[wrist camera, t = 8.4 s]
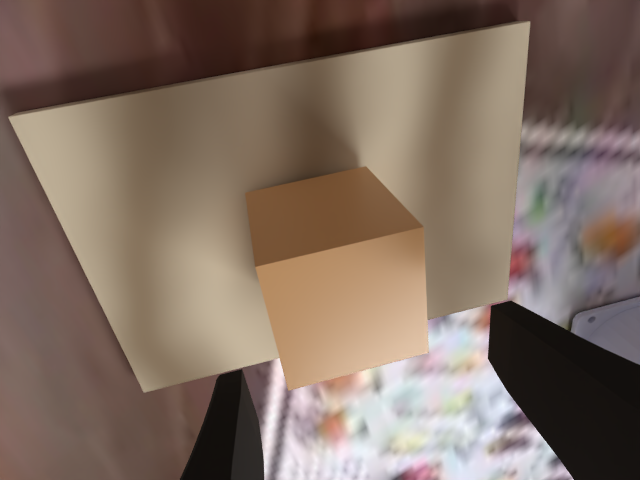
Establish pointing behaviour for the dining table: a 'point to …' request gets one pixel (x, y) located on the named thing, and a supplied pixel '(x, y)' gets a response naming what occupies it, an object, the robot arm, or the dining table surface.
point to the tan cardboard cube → (339, 274)
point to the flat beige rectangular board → (280, 183)
